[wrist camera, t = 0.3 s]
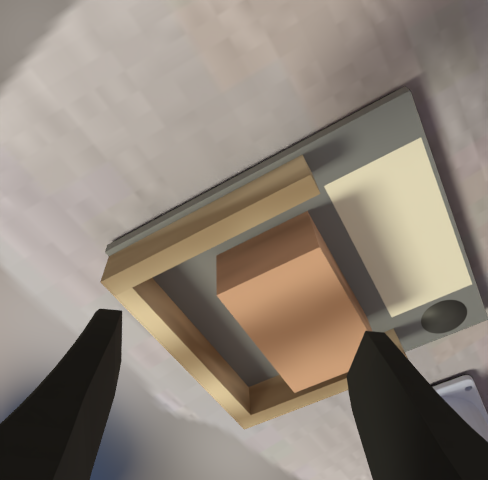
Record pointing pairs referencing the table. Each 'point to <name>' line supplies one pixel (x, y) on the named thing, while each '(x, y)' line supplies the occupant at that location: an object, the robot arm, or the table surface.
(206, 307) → the floor board
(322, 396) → the oak cubby
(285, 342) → the terracotta slab
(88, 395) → the robot arm
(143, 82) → the table surface
